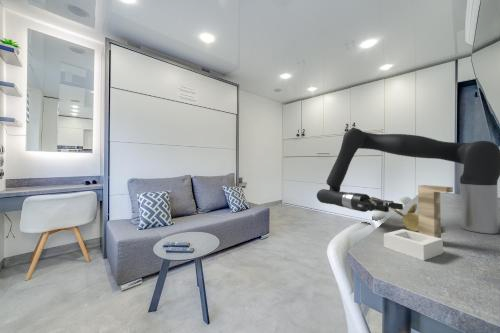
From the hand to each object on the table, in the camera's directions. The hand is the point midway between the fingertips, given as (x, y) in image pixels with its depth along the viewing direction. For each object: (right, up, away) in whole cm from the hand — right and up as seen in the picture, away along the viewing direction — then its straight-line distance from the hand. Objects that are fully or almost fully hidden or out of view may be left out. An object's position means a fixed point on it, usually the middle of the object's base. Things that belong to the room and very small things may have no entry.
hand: (395, 208), depth 73 cm
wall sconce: (+17, -8, 0) cm, 19 cm away
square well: (-6, -9, -15) cm, 19 cm away
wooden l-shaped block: (+5, -9, -11) cm, 15 cm away
